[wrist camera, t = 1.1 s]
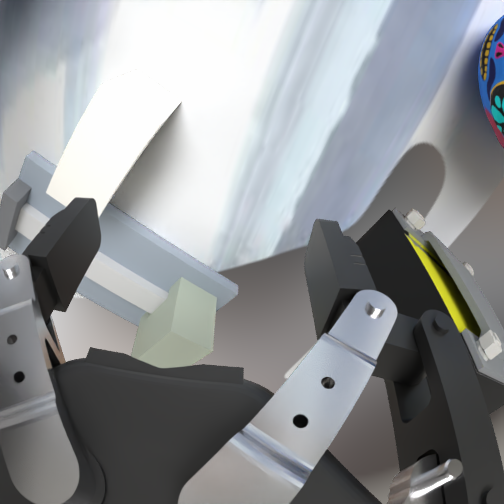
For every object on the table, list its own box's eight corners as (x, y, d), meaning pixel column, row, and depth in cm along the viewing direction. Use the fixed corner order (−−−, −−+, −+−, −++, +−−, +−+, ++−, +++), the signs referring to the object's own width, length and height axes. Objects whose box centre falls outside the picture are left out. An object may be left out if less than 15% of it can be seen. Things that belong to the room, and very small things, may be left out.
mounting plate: (7, 234, 32) (-28, 282, 25) (33, 150, 26) (-18, 194, 19) (175, 336, 44) (167, 390, 37) (238, 285, 38) (237, 348, 31)
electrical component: (469, 263, 37) (535, 382, 21) (418, 307, 42) (464, 428, 26) (402, 195, 30) (502, 355, 15) (340, 258, 35) (388, 426, 20)
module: (83, 155, 27) (45, 192, 21) (136, 69, 22) (100, 84, 16) (122, 182, 29) (94, 225, 23) (181, 101, 24) (160, 125, 18)
